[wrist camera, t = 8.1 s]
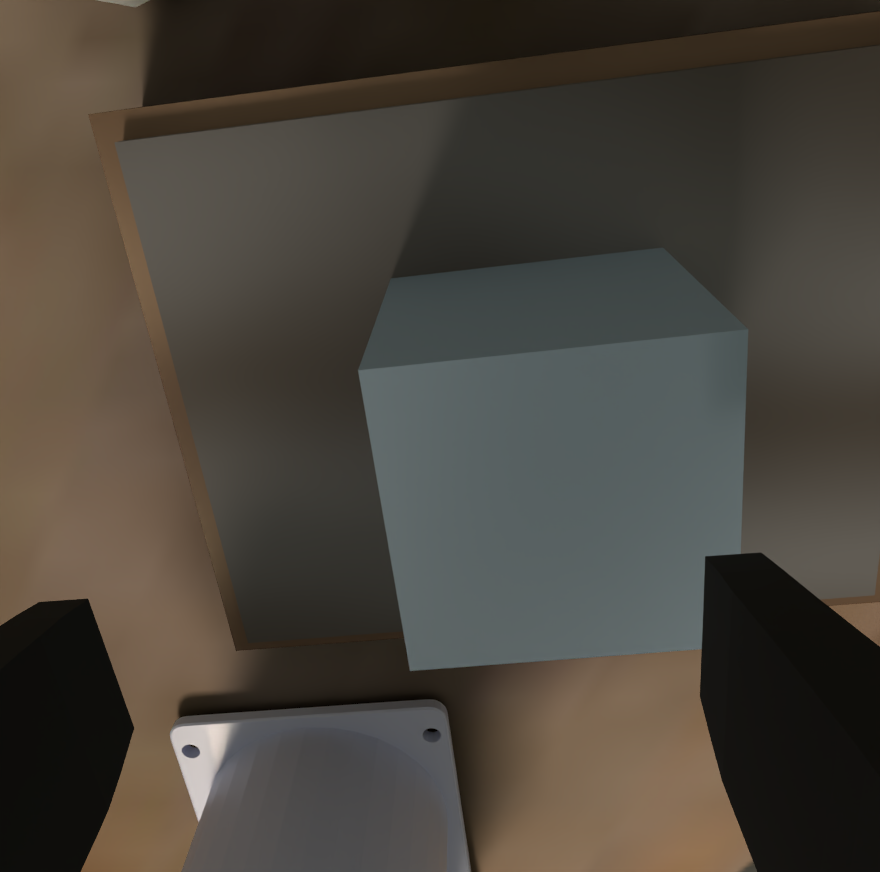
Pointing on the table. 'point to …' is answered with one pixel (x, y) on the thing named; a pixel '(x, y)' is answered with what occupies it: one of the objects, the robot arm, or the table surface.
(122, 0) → the supplement box
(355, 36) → the table surface
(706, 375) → the dusty blue block
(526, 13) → the table surface
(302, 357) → the wooden tray
